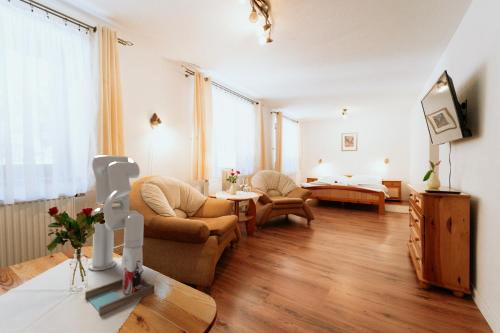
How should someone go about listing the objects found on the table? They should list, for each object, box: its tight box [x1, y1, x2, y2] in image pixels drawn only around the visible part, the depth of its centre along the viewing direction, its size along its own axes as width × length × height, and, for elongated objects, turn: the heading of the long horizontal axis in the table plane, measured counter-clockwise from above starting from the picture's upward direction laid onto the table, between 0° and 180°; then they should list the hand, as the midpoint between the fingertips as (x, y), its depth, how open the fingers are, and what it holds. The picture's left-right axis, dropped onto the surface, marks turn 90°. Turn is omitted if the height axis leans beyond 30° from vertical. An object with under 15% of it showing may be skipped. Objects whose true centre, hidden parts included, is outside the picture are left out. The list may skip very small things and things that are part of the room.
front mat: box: [87, 290, 121, 313], centre depth 93 cm, size 13×9×1 cm
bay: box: [84, 276, 155, 317], centre depth 97 cm, size 16×21×3 cm
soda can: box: [122, 267, 141, 295], centre depth 101 cm, size 7×7×12 cm
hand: (131, 282), depth 101 cm, fingers open, 7 cm apart
